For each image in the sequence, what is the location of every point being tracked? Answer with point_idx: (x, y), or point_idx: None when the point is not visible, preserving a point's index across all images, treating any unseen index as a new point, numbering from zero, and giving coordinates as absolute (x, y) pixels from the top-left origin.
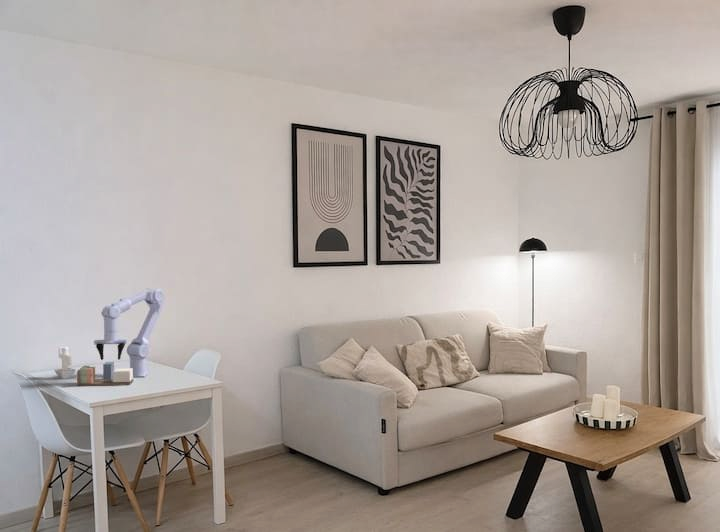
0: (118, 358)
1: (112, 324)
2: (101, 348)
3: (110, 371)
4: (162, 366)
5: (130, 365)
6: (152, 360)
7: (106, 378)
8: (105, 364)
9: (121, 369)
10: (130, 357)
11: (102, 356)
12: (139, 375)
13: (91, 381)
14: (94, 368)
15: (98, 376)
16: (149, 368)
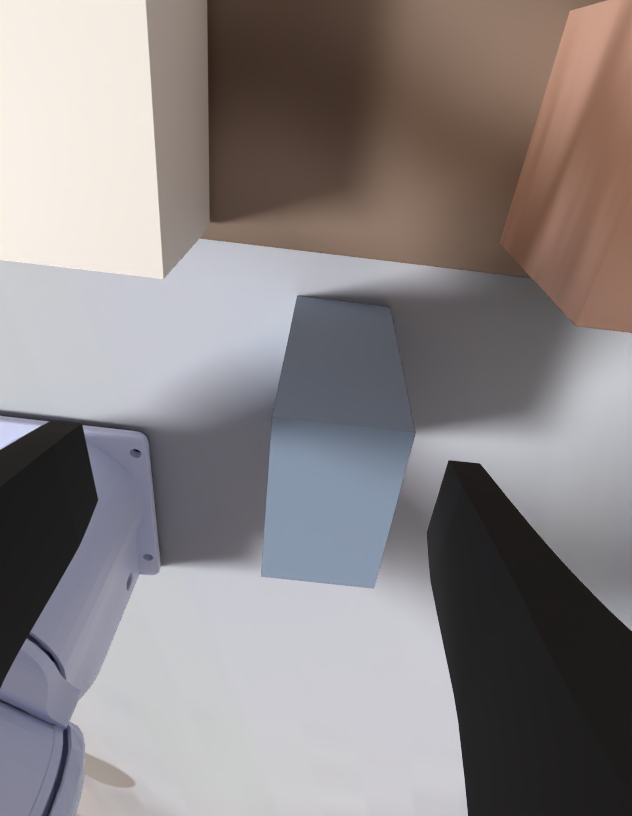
0: (50, 430)
1: None
2: (597, 784)
3: (294, 352)
4: None
5: (81, 554)
6: (143, 809)
7: (353, 315)
8: (374, 426)
9: (21, 152)
10: (27, 655)
11: (460, 536)
12: (21, 436)
13: (585, 6)
14: (582, 271)
15: None
16: None
